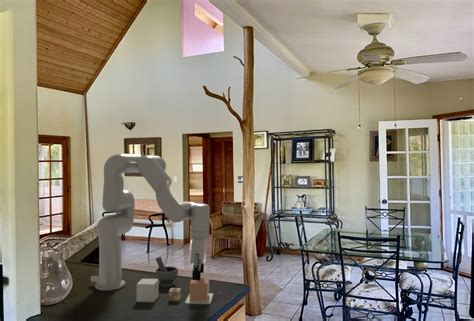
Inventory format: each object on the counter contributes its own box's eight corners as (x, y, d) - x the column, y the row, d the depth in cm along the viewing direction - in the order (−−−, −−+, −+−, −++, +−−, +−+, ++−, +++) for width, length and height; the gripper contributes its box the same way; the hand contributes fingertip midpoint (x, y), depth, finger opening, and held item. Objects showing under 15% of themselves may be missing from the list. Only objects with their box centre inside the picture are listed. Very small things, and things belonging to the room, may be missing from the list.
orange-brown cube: (189, 300, 146) (189, 283, 146) (192, 294, 153) (192, 277, 153) (207, 301, 146) (207, 283, 146) (209, 294, 153) (209, 278, 153)
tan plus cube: (168, 301, 147) (168, 291, 147) (171, 297, 151) (171, 287, 151) (178, 301, 147) (178, 291, 147) (180, 297, 151) (180, 287, 151)
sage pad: (185, 303, 144) (185, 302, 144) (189, 293, 155) (189, 292, 155) (210, 304, 144) (210, 303, 144) (213, 294, 155) (213, 293, 155)
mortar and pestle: (181, 283, 168) (182, 257, 169) (169, 289, 160) (169, 261, 160) (162, 279, 174) (162, 254, 174) (149, 285, 165) (149, 258, 166)
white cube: (136, 301, 146) (136, 284, 146) (141, 295, 153) (142, 278, 153) (154, 302, 145) (154, 284, 146) (158, 295, 152) (158, 278, 153)
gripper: (193, 229, 158) (192, 269, 158) (186, 238, 141) (185, 282, 141) (211, 230, 158) (209, 270, 158) (206, 239, 141) (204, 283, 141)
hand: (198, 276), depth 150 cm, fingers open, 9 cm apart
